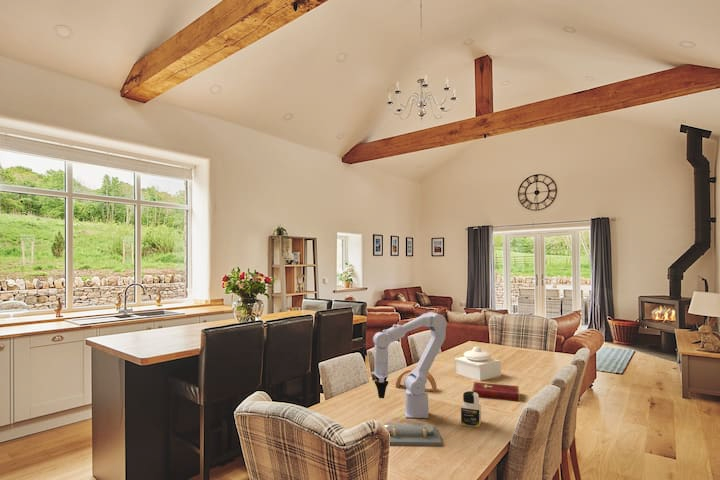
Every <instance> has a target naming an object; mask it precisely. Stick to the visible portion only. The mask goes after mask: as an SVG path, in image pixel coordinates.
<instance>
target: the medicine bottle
mask: <svg viewBox="0 0 720 480" xmlns="http://www.w3.org/2000/svg"><path fill="white" fill-rule="evenodd" d="M462 399H463V402H462V404H461V407H460V424H461V426H466V427H467V426H468V427H473V428H475V427H476V428H480V426H481V423H482V403H480V397H479V395H478V394H477V393H475V392H472V391H470V390H469V391H465V392H463V395H462Z"/></svg>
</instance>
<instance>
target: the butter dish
mask: <svg viewBox="0 0 720 480" xmlns="http://www.w3.org/2000/svg"><path fill="white" fill-rule="evenodd" d="M491 357H492V355H491V354H490V353H489V352H488V351H485V350H482V349H481V348H480V347H479V346H474V347H473V348H472V350H466V351H464V353H463V356H460V357H455V358H454V360H455V374H456V375H459V376H462V377H466V378H469V379H471V380H475V381H477V382H483V381H487V380H490V379H491V380H492V379H494V378H498V377H501V376H502V374H501V372H502V366H501V365H502V364H501V361H500V360H499V359H495V358H491Z"/></svg>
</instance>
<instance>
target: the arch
mask: <svg viewBox="0 0 720 480" xmlns="http://www.w3.org/2000/svg"><path fill="white" fill-rule="evenodd" d="M415 368H416V366H415V367H410V368H407V369H405V370H404V371H403V372H402V373H401V374H400V375H399V376H398V378H397V380H396V382H395V389H397V388H399V387H400V386H401V383H402V378H403V376H405V375H406V374H410V372H411V371H412V370H413V369H415ZM427 381H429V383H430V386H431V388H432V393H435V392H436V391H437V389H438V386H437V382H436V381H435V378H434V377H433V375H432V374H431V373H430V371H428V373H427Z"/></svg>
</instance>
